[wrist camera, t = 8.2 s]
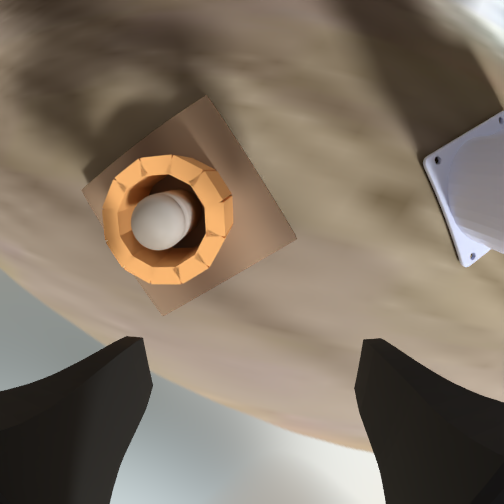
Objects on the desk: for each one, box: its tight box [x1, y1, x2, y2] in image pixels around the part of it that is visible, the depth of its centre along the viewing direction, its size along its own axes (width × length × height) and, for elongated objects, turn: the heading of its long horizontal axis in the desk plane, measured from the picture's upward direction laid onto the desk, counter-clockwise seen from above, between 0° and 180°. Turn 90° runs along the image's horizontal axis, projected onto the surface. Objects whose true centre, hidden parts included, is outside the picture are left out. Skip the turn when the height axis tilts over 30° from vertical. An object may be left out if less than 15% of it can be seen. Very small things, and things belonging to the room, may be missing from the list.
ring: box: [102, 155, 233, 284], centre depth 15 cm, size 6×6×4 cm
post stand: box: [82, 95, 297, 316], centre depth 15 cm, size 9×9×6 cm
